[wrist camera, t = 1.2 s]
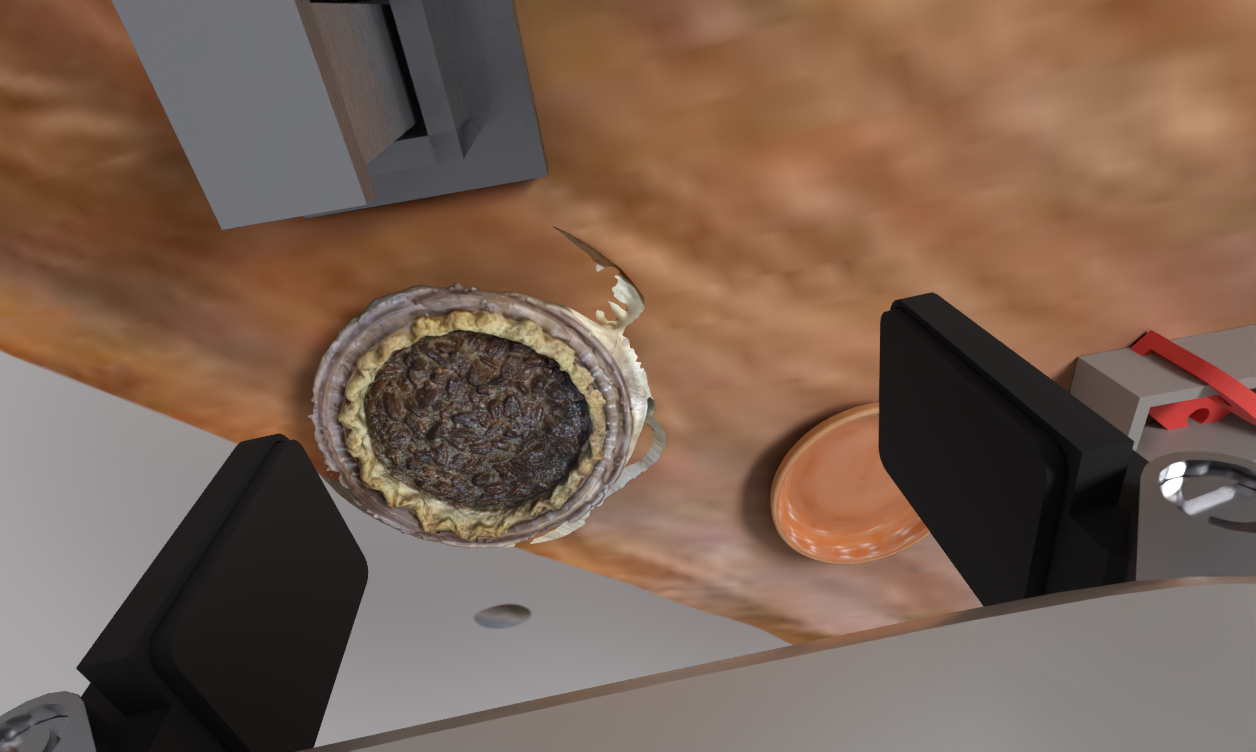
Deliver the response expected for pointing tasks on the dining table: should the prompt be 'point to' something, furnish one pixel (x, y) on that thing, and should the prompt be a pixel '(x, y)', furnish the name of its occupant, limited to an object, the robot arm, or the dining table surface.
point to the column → (276, 98)
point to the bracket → (1206, 408)
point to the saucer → (842, 494)
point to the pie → (483, 412)
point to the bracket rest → (1170, 394)
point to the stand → (459, 103)
